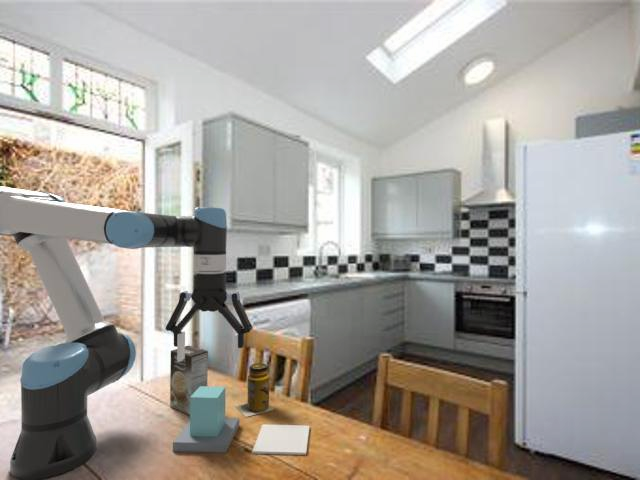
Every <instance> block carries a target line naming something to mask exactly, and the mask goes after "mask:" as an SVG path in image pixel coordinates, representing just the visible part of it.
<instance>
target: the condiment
mask: <svg viewBox="0 0 640 480" xmlns="http://www.w3.org/2000/svg"><path fill="white" fill-rule="evenodd" d="M248 368H249V371H248V375H247V403H245V404H239V405H236V408H237V409H238V410H239V412H240V413H241V414H243V416H244V417H245V418H247V417H250V416H251V417H252V416H254V415H258V414H264V413H266V412H270V411H273V410H275V408H274V407H273V406H271V405H270V375H269V366H268V365H267V363H263V362H257V363H252V364H250V365H249V367H248Z"/></svg>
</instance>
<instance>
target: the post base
mask: <svg viewBox="0 0 640 480" xmlns="http://www.w3.org/2000/svg"><path fill="white" fill-rule="evenodd" d="M239 427H240V417H225V424H224V426H223V428H222V429H221V431H220V433H219V434H218V436H217V437H210V436H190V420H189V421H188V423H187V424H186V425H185V426H184V427H183V429H182V430H181V431H180V432H179V434H178V435H177V436H176V437H175V439H174V440H173V441H172V452H194V453H195V452H196V453H197V452H198V453H223V454H225V453H227V450H228V449H229V447H230V446H231V442H232V441H233V439H234V437H235V435H236V433H237V431H238V429H239Z"/></svg>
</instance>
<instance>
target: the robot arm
mask: <svg viewBox="0 0 640 480" xmlns="http://www.w3.org/2000/svg"><path fill="white" fill-rule="evenodd" d="M227 224H228V222H227V212H226V210H225V209H224V208H222V207H211V206H200V207H196V208H194V210H193V215H187V216H186V215H184V216H183V215H168V214H159V213H151V212H149V213H148V212H143V211H136V210H124V209H118V208H116V209H115V208H109V207H101V206H93V205H85V204H76V203H75V204H74V203H68V202H66V200H65V199H63V198H62V197H60V196H58V195H56V194H52V193H49V192H46V191H41V190H40V191H39V190H37V191H36V190H35V191H34V190H27V189H20V188H14V187H13V188H12V187H8V186H1V185H0V236H7V237H8V236H9V237H10V236H11V237H13V239H14V241H15V243H16V244H17V247H18V249H20V250H22V251H25V252H28V254H29V256H30V258H31V260H32V262H33V265H34V267H35V269H36V270H37V273H38V276H39V278H40V279H41V281H42V284H43V286H44V288H45V290H46V293H47V296H48V297H49V299H50V301H51V304H52V306H53V309H54V310H55V312H56V314H57V317H58V319H59V321H60V323H61V325H62V328H63V330H64V332H65V334H66V337H67V338H66V340H65V342H64V343H59V344H57V345H51V346H47V347H44V348H41V349H39V350H37V351H35V352H33V353H32V354H30V355H29V356H27V358H26V359H25V360H24V362H23V363H22V367H21V368H22V369H21V376H20V387H21V388H20V393H21V394H20V395H21V396H20V397H21V398H20V401H21V402H20V403H21V404H20V405H21V408H20V409H21V411H20V412H21V418H20V419H21V420H20V421H21V424H20V425H21V426H20V427H21V430H20V434H19V436H18V439H17V440H16V443H15V446H14V449H13V451H12V452H13V453H12V455H11V457H10V459H9V460H10V463H9V464H10V465H9V473H10V475H11V476H12V477H13V478H15V479H18V480H43V479H47V478H51V477H55V476H58V475H63V474H64V473H67V472H69V471H72V470H73V469H74V470H75V469H76V468H78V467H80V466H82V465H83V464H85V463H86V462H87V461H88V460H90V459H91V458H92V457H93V456H94V454H95V453H96V450H97V436H96V435H95V433H94V430H93V427H92V424H91V422H90V419H89V415H88V396H90V395H92V394H94V393H95V392H98V391H99V390H101V389H103V388H105V387H107V386H109V385H111V384H113V383H116V382H117V381H119V380H120V379H121V378H123V377H124V376H126V375H127V374H128V373H129V372H130V371H131V369H132V368H133V366H134V363H135V361H136V358H137V357H136V356H137V350H136V346H135V343H134V341H133V340H132V338H131V337H130V336H129V335H127V334H125V333H123V332H118V329H117V328H116V325H115V324H114V322H109V321H106V320H105V318H104V316H103V314H102V312H101V310H100V307H99V305H98V303H97V302H96V299H95V297H94V295H93V292H92V291H91V289H90V287H89V284H88V282H87V280H86V278H85V275H84V273H83V271H82V269H81V267H80V264H79V263H78V260H77V258H76V256H75V255H74V252H73V250H72V248H71V245H70V243H69V241H68V239H71V240H72V239H73V240H78V241H79V240H80V241H87V242H93V243H94V242H95V243H102V244H110V245H113V246H115V247H118V248H122V249H131V250H136V249H142V248H144V249H145V248H183V247H184V248H185V247H187V248H193V271H195V273H194V274H193V279H192V280H193V285H192V288H193V291H192V292H188V291H187V290H185V291H182V292H180V293H179V296H178V302H177V304H176V306H175V308H174V311H173V312H172V314H171V316H170V318H169V320H168V322H167V324H166V326H165V330H166V331H168V332H169V331H170V332H172V334H173V346H174V347H175V348H176V347H177V348H176V349H177V362H181V361H182V360H183V359H184V358H185V346H186V331H183V330H184V328H185V327H186V326H187V325H188V323H189V322H191V320H192V318H194V317H195V315H196V314H197V313H198V312H199V311H201V312H211V313H215V312H218V313H220V314H221V315H222V316H223V318H224V319H225V320H226V321H227V323H228V324H229V325H230V326H231V327H232V329H233V330H234V331H235V332H236V333H235V334H234V338H233V339H234V342H233V343H234V344H233V345H234V346H233V348H234V349H233V364H238V363H239V362H240V360H241V349H243V347H244V346H245V334H246V333H250V332H251V331H252V330H253V325H252V323H251V321H250V319H249V317H248V315H247V313H246V311H245V308H244V307H243V304H242V303H241V300H240V298H241V297H240V293H239V292H238V291H235V292H232V293H231V292H230V293H227V273H226V272H225V271H226V270H227V229H228V225H227ZM190 300H192V301H193V302H194V305H193V306H192V307H191V308H190V310H189V311H188V312H187V313H186V314H185V316H184V317H183V318H182V319H181V320H180V321H179V319H180V317H181V315H182V314H183V312H184V309H185V307H186V306H187V304H188V302H189V301H190ZM227 300H229V302H230V303H232V306H233V308H234V311H235V312H236V315H237V316H238V319H237V318H236V316H235V315H234V313H232V311H231V310H230V309H229V307H228V305H227V304H226V303H225V302H226V301H227ZM178 321H179V323H178Z"/></svg>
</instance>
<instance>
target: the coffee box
mask: <svg viewBox="0 0 640 480" xmlns="http://www.w3.org/2000/svg"><path fill="white" fill-rule="evenodd" d="M208 354H209V351H208V350H207V349H203V348H199V347H195V346H192V345H189V344H188V345H185V358H184V359H183V360H182V361H181V362H177V348H176V349H171V350H170V369H169V370H170V379H169V380H170V383H169V384H170V386H169V387H170V389H169V393H170V394H169V395H170V396H169V407H171V408H173V409H175V410H178V411H180V412H183V413H185V414H187V415H190V397H191V396H192V395H193V393H194V392H195V391H196V390H197V389H198V388H199V387H200V386H208V369H209V368H208V365H209V355H208Z"/></svg>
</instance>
